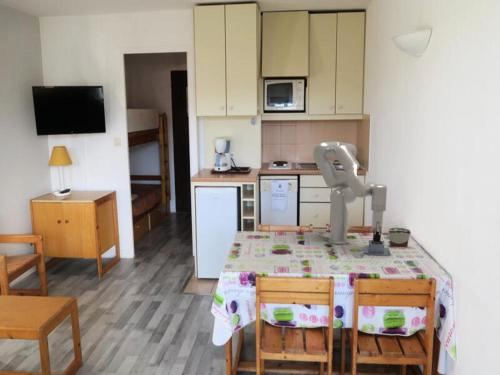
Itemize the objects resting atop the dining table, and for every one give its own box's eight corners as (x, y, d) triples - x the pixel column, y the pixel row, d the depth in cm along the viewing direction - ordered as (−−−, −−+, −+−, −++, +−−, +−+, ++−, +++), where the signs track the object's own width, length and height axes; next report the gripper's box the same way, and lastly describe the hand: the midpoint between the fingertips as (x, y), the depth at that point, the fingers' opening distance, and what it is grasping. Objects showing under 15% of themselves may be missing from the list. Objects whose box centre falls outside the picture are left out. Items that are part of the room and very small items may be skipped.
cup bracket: (362, 254, 234) (363, 244, 233) (362, 247, 246) (363, 238, 245) (390, 256, 231) (390, 246, 230) (389, 249, 242) (389, 240, 241)
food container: (407, 244, 251) (408, 227, 249) (410, 247, 245) (411, 230, 243) (385, 243, 252) (386, 227, 250) (387, 247, 246) (388, 230, 244)
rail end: (372, 246, 236) (373, 228, 234) (372, 244, 240) (373, 226, 238) (380, 247, 235) (381, 229, 233) (380, 245, 239) (381, 227, 237)
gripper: (370, 203, 243) (369, 235, 246) (371, 210, 227) (369, 244, 230) (385, 204, 241) (383, 236, 244) (386, 211, 225) (384, 245, 228)
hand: (376, 240), depth 237 cm, fingers closed on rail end, 4 cm apart
